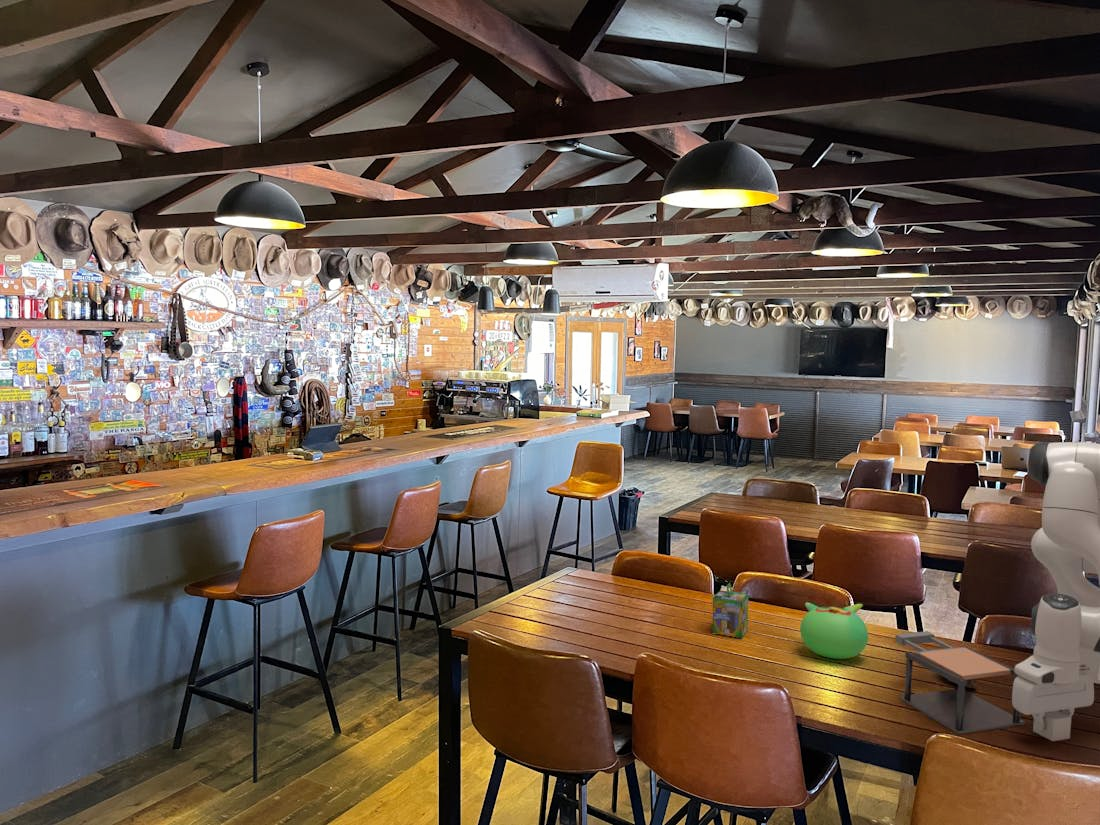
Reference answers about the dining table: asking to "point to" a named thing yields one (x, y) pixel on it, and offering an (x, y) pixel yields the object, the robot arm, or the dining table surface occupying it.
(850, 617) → the green rounded blob
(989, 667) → the trapdoor
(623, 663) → the dining table surface
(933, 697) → the stand
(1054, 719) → the grey cube
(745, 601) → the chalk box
